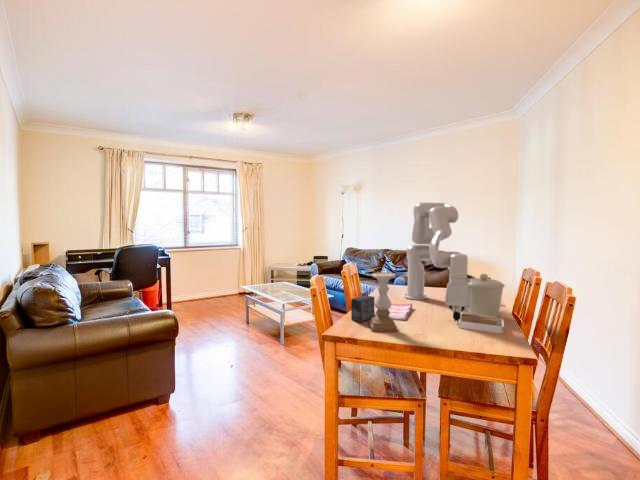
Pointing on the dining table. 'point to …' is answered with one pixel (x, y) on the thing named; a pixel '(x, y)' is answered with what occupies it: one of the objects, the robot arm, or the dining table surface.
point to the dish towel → (398, 311)
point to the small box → (362, 308)
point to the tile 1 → (470, 317)
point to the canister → (485, 296)
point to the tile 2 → (488, 320)
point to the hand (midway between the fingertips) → (456, 320)
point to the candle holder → (382, 306)
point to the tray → (483, 326)
